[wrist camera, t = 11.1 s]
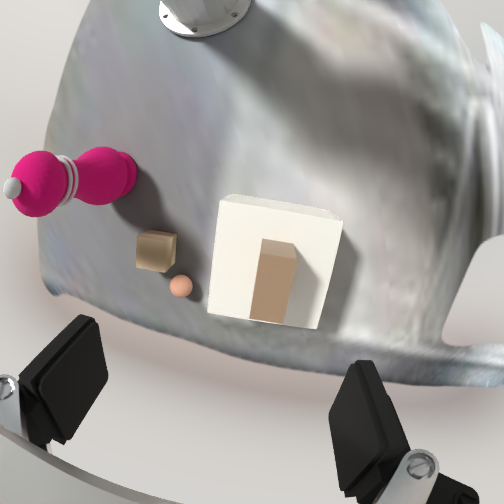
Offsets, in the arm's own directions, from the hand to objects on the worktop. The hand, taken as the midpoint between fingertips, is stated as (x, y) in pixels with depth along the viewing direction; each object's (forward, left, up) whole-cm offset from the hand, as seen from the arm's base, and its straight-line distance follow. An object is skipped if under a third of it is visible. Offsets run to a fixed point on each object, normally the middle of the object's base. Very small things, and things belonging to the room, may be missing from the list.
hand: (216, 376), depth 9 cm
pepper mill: (-4, -19, -27) cm, 34 cm away
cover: (+3, +2, -27) cm, 27 cm away
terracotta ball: (+9, -8, -27) cm, 30 cm away
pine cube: (+5, -12, -27) cm, 30 cm away
